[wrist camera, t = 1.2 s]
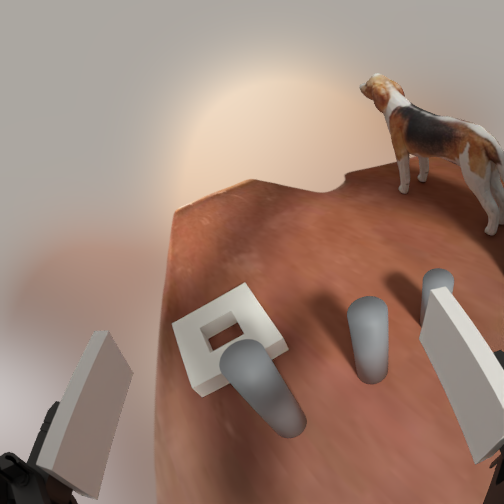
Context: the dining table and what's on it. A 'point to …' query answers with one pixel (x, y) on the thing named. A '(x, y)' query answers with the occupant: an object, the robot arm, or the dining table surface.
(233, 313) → the block
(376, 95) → the dog model
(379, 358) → the medium dowel
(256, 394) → the tall dowel
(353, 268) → the dining table surface
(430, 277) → the short dowel
